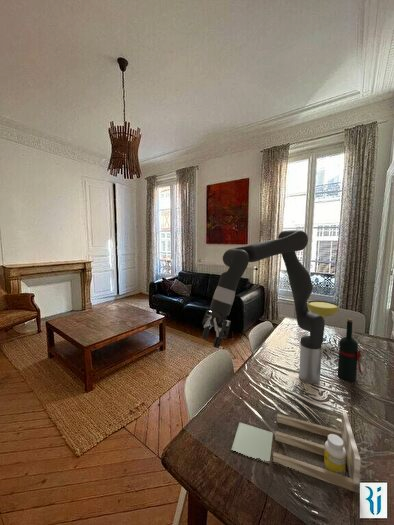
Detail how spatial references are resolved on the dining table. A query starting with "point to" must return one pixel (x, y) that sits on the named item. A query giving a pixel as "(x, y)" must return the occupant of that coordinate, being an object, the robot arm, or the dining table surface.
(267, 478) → the dining table surface
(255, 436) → the mat
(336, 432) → the lane rack
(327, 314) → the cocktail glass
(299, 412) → the dining table surface
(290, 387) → the dining table surface
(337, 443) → the supplement bottle
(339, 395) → the dining table surface
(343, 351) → the wine bottle
